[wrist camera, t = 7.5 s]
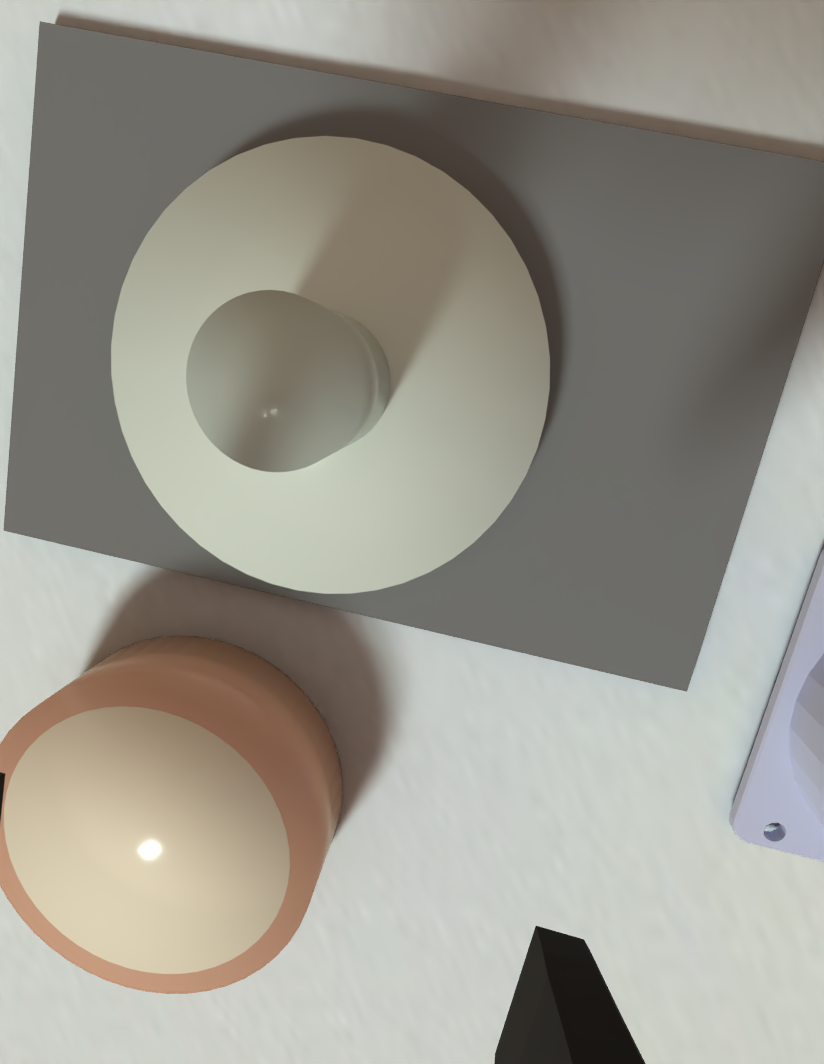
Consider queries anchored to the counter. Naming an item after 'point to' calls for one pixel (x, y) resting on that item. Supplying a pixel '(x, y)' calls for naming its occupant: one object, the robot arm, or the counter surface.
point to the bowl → (169, 815)
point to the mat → (567, 305)
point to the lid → (330, 365)
